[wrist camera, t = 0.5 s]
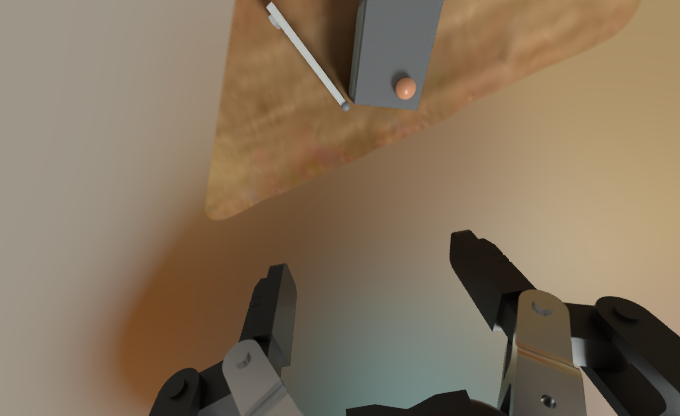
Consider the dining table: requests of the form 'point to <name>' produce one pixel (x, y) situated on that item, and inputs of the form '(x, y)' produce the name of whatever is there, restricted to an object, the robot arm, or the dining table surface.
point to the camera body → (392, 51)
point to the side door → (305, 53)
